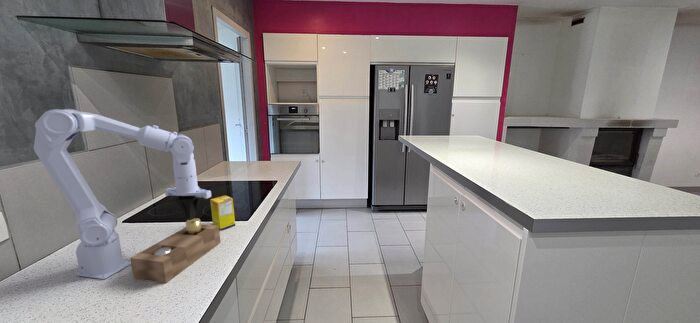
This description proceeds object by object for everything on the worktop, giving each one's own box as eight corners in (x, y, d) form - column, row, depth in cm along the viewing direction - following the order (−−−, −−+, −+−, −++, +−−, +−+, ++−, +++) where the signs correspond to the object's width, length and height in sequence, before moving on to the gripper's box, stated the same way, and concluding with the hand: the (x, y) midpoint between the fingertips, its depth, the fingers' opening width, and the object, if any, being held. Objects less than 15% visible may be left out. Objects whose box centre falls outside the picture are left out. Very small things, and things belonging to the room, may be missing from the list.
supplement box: (227, 221, 111) (225, 194, 109) (235, 225, 107) (233, 198, 105) (212, 226, 107) (209, 198, 104) (220, 231, 103) (217, 202, 101)
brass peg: (184, 239, 88) (182, 222, 87) (194, 233, 92) (192, 217, 91) (196, 240, 87) (194, 223, 86) (205, 234, 91) (203, 218, 90)
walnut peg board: (133, 278, 75) (130, 257, 74) (194, 240, 96) (192, 223, 95) (166, 283, 73) (162, 261, 72) (220, 242, 94) (218, 225, 93)
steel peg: (152, 272, 77) (150, 253, 76) (165, 264, 81) (162, 246, 80) (165, 273, 76) (162, 255, 75) (177, 265, 80) (174, 247, 79)
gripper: (216, 173, 87) (220, 215, 90) (175, 171, 90) (181, 212, 93) (199, 179, 80) (204, 224, 83) (156, 177, 83) (163, 220, 86)
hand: (191, 218), depth 87 cm, fingers closed
